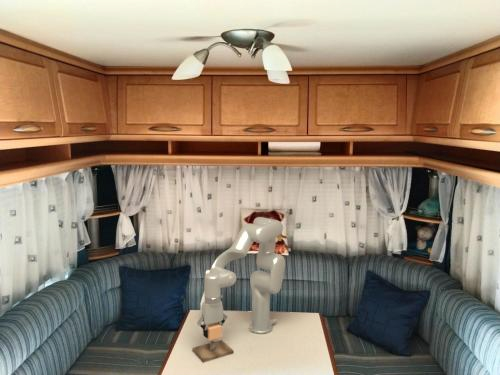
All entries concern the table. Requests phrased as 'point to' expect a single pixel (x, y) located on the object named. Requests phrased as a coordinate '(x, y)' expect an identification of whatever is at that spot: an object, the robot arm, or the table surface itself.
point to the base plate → (212, 350)
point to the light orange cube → (214, 331)
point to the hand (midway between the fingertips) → (212, 334)
